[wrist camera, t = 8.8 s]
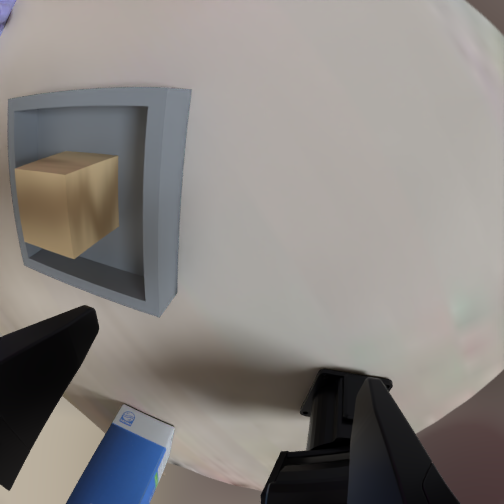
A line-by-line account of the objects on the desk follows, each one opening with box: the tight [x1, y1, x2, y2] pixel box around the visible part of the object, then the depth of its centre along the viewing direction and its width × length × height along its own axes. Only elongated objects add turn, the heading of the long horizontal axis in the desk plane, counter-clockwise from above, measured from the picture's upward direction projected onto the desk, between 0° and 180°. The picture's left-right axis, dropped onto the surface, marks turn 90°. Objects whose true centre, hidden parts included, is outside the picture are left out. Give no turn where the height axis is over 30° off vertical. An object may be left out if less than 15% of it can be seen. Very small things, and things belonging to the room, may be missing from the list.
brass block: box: [15, 151, 119, 259], centre depth 17 cm, size 5×5×5 cm
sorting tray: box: [8, 87, 192, 317], centre depth 18 cm, size 14×14×3 cm
